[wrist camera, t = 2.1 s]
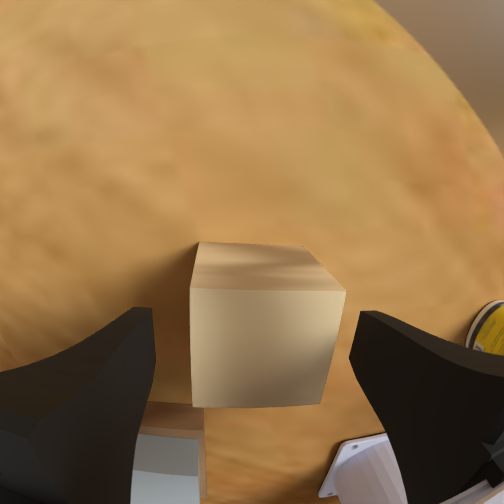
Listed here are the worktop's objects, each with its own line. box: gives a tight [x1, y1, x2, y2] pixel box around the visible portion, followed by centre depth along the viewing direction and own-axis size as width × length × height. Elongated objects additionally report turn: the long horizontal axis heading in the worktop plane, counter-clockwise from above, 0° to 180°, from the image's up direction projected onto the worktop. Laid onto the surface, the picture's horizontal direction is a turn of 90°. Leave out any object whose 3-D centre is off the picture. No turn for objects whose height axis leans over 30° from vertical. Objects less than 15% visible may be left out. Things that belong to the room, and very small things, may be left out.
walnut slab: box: [138, 401, 207, 499], centre depth 16 cm, size 8×8×2 cm
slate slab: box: [131, 434, 200, 504], centre depth 13 cm, size 7×7×2 cm
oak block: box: [190, 242, 346, 408], centre depth 12 cm, size 4×4×5 cm
